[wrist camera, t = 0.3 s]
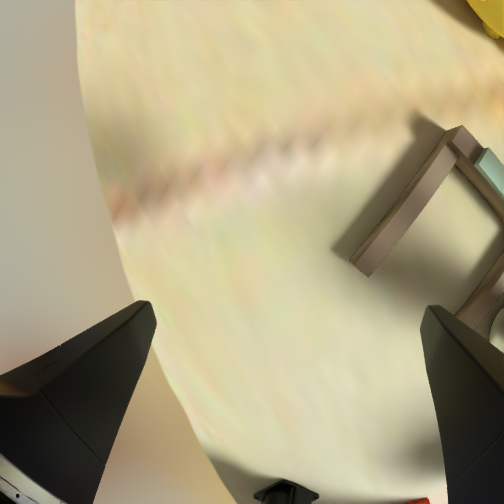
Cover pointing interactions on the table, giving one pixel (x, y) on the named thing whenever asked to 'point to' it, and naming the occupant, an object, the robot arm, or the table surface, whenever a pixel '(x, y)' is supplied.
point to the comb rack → (418, 195)
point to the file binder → (421, 501)
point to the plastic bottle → (498, 331)
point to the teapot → (490, 16)
